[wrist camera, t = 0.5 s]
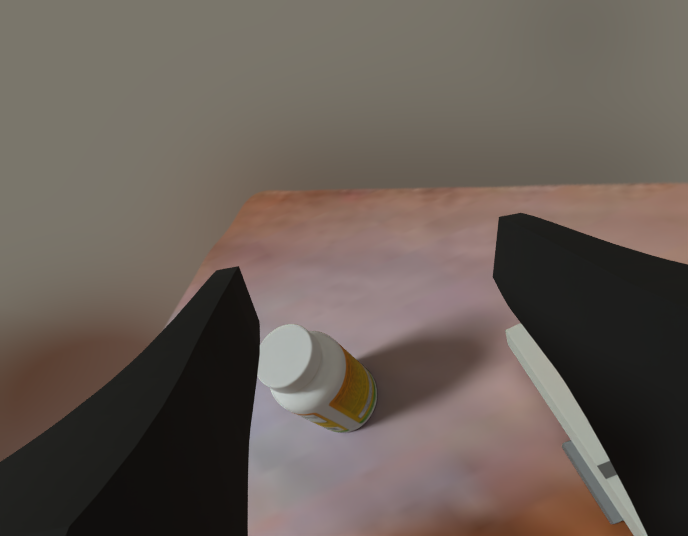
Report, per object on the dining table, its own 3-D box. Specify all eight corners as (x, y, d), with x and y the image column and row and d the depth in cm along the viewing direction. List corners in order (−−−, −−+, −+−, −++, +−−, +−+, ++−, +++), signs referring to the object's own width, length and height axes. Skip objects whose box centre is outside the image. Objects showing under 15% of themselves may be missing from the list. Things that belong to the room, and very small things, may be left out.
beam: (933, 641, 15) (1026, 667, 12) (724, 703, 16) (764, 740, 13) (612, 302, 26) (620, 275, 23) (502, 353, 27) (497, 332, 24)
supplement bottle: (362, 352, 31) (308, 297, 24) (390, 412, 28) (336, 370, 20) (308, 384, 32) (238, 339, 24) (328, 447, 28) (253, 417, 21)
